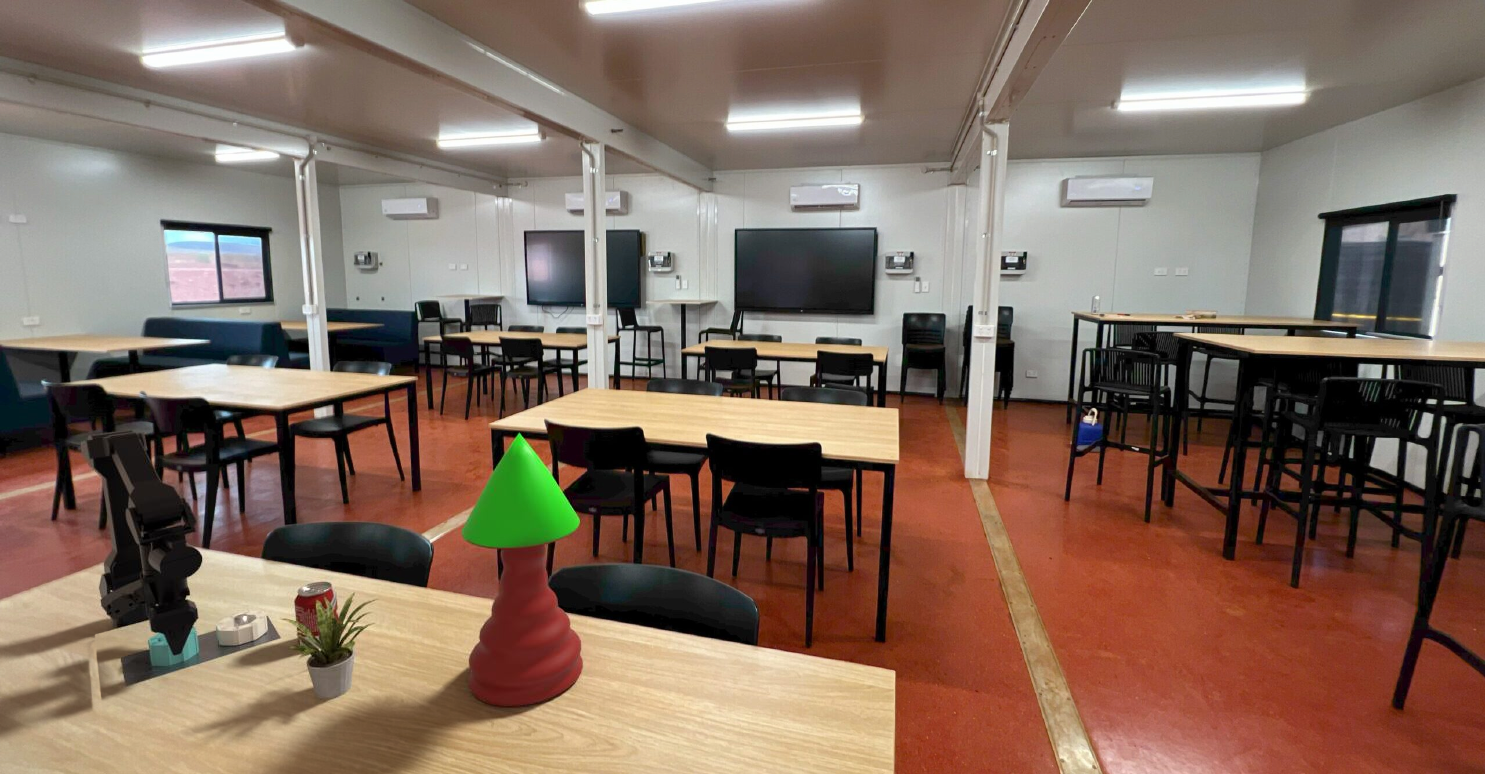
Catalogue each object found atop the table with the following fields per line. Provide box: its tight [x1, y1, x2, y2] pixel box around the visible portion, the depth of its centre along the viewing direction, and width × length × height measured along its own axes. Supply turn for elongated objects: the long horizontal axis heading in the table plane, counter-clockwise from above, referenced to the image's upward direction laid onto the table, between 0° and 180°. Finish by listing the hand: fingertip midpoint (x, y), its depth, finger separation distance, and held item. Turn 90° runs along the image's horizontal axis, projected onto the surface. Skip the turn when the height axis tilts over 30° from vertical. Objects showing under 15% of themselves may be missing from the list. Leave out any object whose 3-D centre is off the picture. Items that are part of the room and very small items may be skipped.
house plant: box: [279, 592, 378, 700], centre depth 112 cm, size 14×14×16 cm
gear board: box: [120, 614, 282, 687], centre depth 122 cm, size 12×22×6 cm, turn 136°
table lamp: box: [461, 432, 584, 707], centre depth 115 cm, size 20×20×45 cm
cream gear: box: [215, 610, 268, 646], centre depth 127 cm, size 8×8×3 cm
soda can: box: [293, 581, 339, 650], centre depth 125 cm, size 7×7×12 cm
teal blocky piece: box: [147, 626, 199, 666], centre depth 119 cm, size 7×7×4 cm
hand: (173, 644), depth 119 cm, fingers open, 9 cm apart
